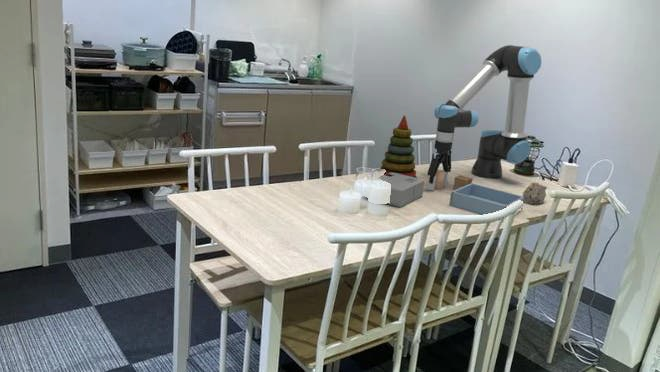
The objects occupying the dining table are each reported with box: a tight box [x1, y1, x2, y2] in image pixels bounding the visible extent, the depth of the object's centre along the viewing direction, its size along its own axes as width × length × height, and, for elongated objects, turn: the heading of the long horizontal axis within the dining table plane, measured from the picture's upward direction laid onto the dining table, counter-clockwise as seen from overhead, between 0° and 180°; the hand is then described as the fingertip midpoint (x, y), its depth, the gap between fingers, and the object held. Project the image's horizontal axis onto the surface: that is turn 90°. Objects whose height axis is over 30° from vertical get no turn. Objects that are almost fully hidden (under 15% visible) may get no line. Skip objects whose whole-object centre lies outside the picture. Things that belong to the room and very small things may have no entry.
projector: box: [379, 172, 425, 208], centre depth 229 cm, size 17×22×8 cm
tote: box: [449, 182, 524, 215], centre depth 225 cm, size 20×24×6 cm
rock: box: [522, 182, 548, 205], centre depth 238 cm, size 12×7×10 cm, turn 120°
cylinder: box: [434, 169, 445, 191], centre depth 247 cm, size 5×5×8 cm
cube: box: [452, 174, 474, 191], centre depth 247 cm, size 6×6×6 cm
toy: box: [379, 115, 419, 179], centre depth 255 cm, size 20×20×30 cm
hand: (437, 187), depth 248 cm, fingers open, 11 cm apart
